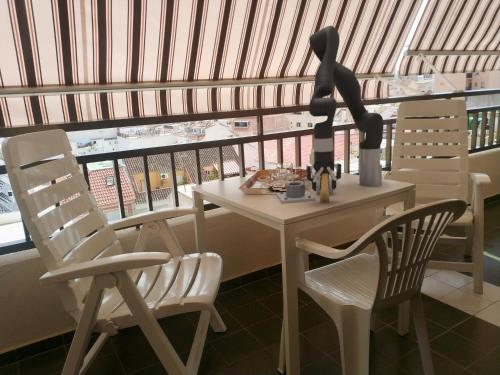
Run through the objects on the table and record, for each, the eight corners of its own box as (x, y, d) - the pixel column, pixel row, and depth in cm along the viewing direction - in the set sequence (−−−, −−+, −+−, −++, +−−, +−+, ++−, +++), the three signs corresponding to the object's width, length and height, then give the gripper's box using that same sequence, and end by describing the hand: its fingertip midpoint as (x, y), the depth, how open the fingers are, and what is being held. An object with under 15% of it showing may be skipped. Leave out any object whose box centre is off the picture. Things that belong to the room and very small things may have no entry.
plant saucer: (285, 195, 170) (285, 188, 169) (261, 189, 184) (260, 183, 183) (313, 187, 180) (313, 181, 179) (288, 182, 194) (288, 176, 193)
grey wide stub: (330, 191, 171) (330, 178, 169) (335, 194, 164) (335, 181, 162) (314, 192, 170) (314, 179, 169) (319, 196, 163) (318, 182, 162)
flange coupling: (307, 192, 170) (306, 179, 169) (315, 200, 157) (315, 186, 155) (276, 195, 169) (275, 182, 168) (282, 203, 156) (281, 189, 154)
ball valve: (308, 178, 200) (307, 144, 196) (324, 176, 201) (324, 143, 197) (315, 185, 183) (315, 148, 179) (333, 184, 183) (332, 147, 179)
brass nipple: (327, 200, 156) (327, 171, 153) (330, 202, 152) (330, 173, 150) (318, 200, 156) (318, 172, 153) (321, 203, 152) (320, 174, 149)
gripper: (338, 147, 154) (338, 186, 157) (303, 149, 152) (304, 189, 156) (344, 149, 146) (344, 190, 150) (307, 152, 145) (308, 193, 149)
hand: (324, 190), depth 153 cm, fingers open, 7 cm apart
